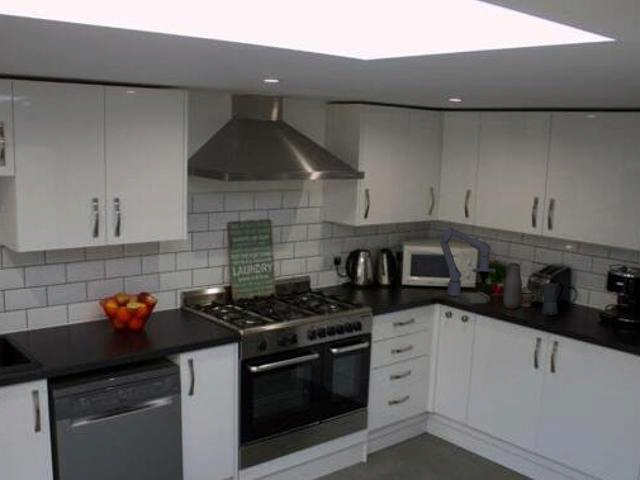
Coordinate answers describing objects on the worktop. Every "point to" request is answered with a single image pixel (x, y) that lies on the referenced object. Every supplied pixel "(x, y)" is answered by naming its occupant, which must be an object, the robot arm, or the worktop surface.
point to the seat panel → (473, 297)
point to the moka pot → (550, 297)
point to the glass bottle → (512, 286)
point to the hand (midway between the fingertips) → (483, 283)
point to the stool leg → (484, 296)
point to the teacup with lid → (526, 297)
